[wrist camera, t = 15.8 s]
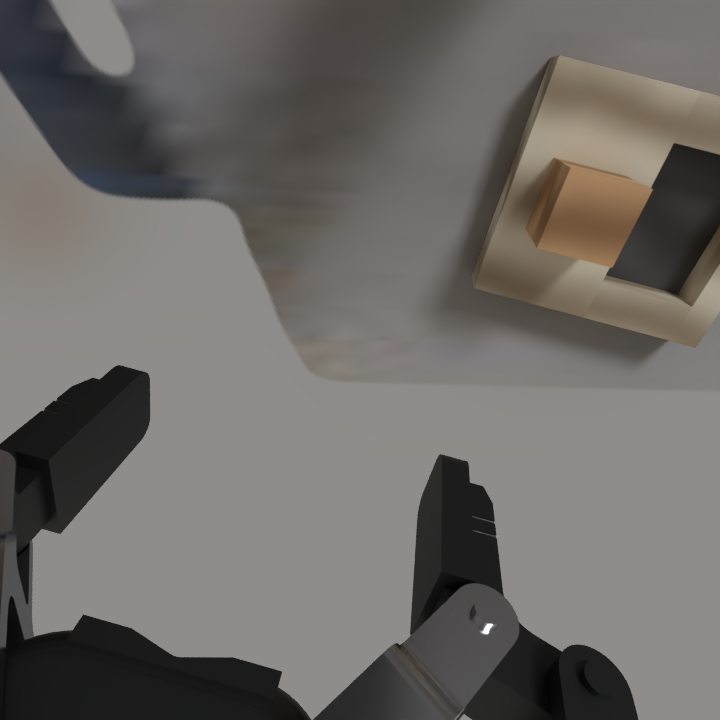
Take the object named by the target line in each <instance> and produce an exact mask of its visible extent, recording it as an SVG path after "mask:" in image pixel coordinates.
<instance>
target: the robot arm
mask: <svg viewBox="0 0 720 720" xmlns="http://www.w3.org/2000/svg"><path fill="white" fill-rule="evenodd" d="M149 421H150V378H149V375H148V373H146V372H142V371H138V370H135V369H131V368H127V367H124V366H120V365H118V366H115V367H114V368H113V369H111V370H110V371H109V372H108V373H107V374H106V375H105V376H103V377H102V378H101V379H100V380H99V379H95V378H91V379H89V380H87V381H84V382H82V383H79V384H77V385H74V386H72V387H71V388H69V389H68V390H67V391H66V392H65V393H63V394H62V395H61V396H59V397H58V398H57V401H53V402H52V403H51V404H50V405H48V406H47V407H46V408H45V410H44V411H41V412H39V413H38V414H37V415H36V416H34V417H33V418H32V419H31V420H29V421H28V422H27V423H26V424H24V425H23V426H22V427H21V428H19V429H18V430H17V431H16V432H14V433H13V434H12V435H11V436H9V437H8V438H7V439H6V440H5V441H3V442H2V443H1V444H0V720H311V719H310V717H309V716H308V714H307V713H306V712H305V711H304V710H303V708H302V707H301V706H300V705H299V704H298V702H296V701H295V700H294V699H293V698H292V697H291V696H290V695H288V694H287V693H286V692H284V691H283V690H281V689H280V688H278V685H279V681H280V677H281V673H282V672H281V671H278V670H275V669H271V668H268V667H264V666H261V665H257V664H254V663H250V662H247V661H243V660H239V659H236V658H206V657H204V658H203V657H201V658H200V657H198V658H195V657H191V658H189V657H183V658H182V657H176V656H173V655H171V654H169V653H168V652H166V651H165V650H163V649H162V648H160V647H159V646H157V645H156V644H154V643H153V642H151V641H150V640H148V639H147V638H145V637H144V636H142V635H140V634H139V633H138V632H136V631H135V630H133V629H132V628H128V627H124V626H121V625H118V624H114V623H111V622H107V621H104V620H100V619H96V618H93V617H90V616H86V615H83V616H82V618H81V619H80V620H79V622H78V623H77V625H76V626H75V628H74V629H73V630H72V631H60V632H52V633H48V634H43V635H39V636H35V637H34V634H33V625H32V572H33V569H32V568H33V543H32V539H33V538H34V537H35V536H36V534H37V533H38V532H39V531H40V530H41V529H45V530H48V531H52V532H55V533H59V534H60V533H62V531H63V530H64V529H65V528H66V527H67V526H68V524H69V523H70V522H71V521H72V520H73V519H74V517H75V516H76V515H77V514H78V513H79V512H80V510H81V509H82V508H83V507H84V506H85V505H86V504H87V502H88V501H89V500H90V499H91V498H92V497H93V495H94V494H95V493H96V492H97V491H98V490H99V488H100V487H101V486H102V485H103V483H105V481H106V480H107V479H108V478H109V477H110V476H111V475H112V473H113V472H114V471H115V470H116V469H117V468H118V466H119V465H120V464H121V463H122V462H123V461H124V459H125V458H126V457H127V456H128V455H129V454H130V452H131V451H132V450H133V449H134V448H135V447H136V445H137V444H138V443H139V442H140V441H141V440H142V438H143V437H144V435H145V433H146V431H147V429H148V426H149ZM494 521H495V520H494V511H493V503H492V501H491V500H490V498H489V496H488V494H487V493H486V491H485V489H484V487H483V486H480V485H476V484H473V483H470V479H469V465H468V462H467V461H463V460H460V459H456V458H452V457H449V456H445V455H441V454H440V455H439V456H438V458H437V460H436V462H435V465H434V468H433V470H432V472H431V475H430V477H429V480H428V482H427V485H426V487H425V490H424V492H423V495H422V498H421V501H420V505H419V510H418V518H417V533H416V550H415V565H414V581H413V597H412V614H411V630H410V634H411V636H410V637H409V638H408V639H407V640H406V641H405V642H404V643H402V644H401V645H399V644H398V643H396V644H394V645H392V646H391V647H390V648H388V649H387V650H386V651H385V652H384V653H383V654H382V655H381V656H380V657H378V658H377V659H376V660H375V661H374V662H373V663H372V664H371V665H370V666H369V667H368V668H367V669H366V670H365V671H364V672H363V673H362V674H361V675H360V676H359V677H357V678H356V679H355V680H354V681H353V682H352V683H351V684H350V685H349V686H348V687H347V688H346V689H345V690H344V691H343V692H342V693H341V694H340V695H339V696H338V697H337V698H336V699H334V700H333V701H332V702H331V703H330V704H329V705H328V706H327V707H326V708H325V709H324V710H323V711H322V712H321V713H320V714H319V715H318V716H317V717H315V718H314V719H313V720H460V719H461V717H462V716H463V715H464V714H465V715H467V716H468V717H469V718H471V719H472V720H638V716H637V713H636V708H635V705H634V701H633V697H632V694H631V691H630V688H629V686H628V683H627V681H626V680H625V678H624V676H623V675H622V673H621V672H620V671H619V669H618V668H617V667H616V666H615V665H614V664H613V663H612V662H611V661H610V660H609V659H608V658H607V657H606V656H604V655H603V654H602V653H600V652H598V651H597V650H595V649H593V648H590V647H588V646H584V645H571V646H569V647H567V648H566V649H564V650H563V652H561V651H560V650H558V649H556V648H555V647H553V646H551V645H550V644H548V643H547V642H545V641H543V640H542V639H540V638H539V637H537V636H535V635H534V634H532V633H531V632H529V631H528V630H527V629H526V628H524V627H523V626H522V625H521V624H520V623H519V622H518V618H517V615H516V613H515V611H514V609H513V607H512V606H511V605H510V603H509V602H508V600H507V599H505V597H504V595H503V589H502V580H501V571H500V564H499V554H498V545H497V539H496V528H495V524H494Z"/></svg>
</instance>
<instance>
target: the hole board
mask: <svg viewBox="0 0 720 720" xmlns="http://www.w3.org/2000/svg"><path fill="white" fill-rule="evenodd" d="M554 157H555V158H558V159H562V160H566V161H570V162H574V163H578V164H581V165H585V166H589V167H593V168H597V169H601V170H605V171H608V172H612V173H616V174H620V175H624V176H627V177H629V178H631V179H633V180H635V181H637V182H639V183H641V184H643V185H645V186H647V187H649V188H652V189H653V191H652V192H651V194H650V196H649V198H648V200H647V202H646V204H645V206H644V208H643V210H642V212H641V214H640V216H639V217H638V219H637V221H636V223H635V225H634V227H633V229H632V231H631V233H630V235H629V237H628V239H627V241H626V243H625V244H624V246H623V248H622V250H621V252H620V254H619V256H618V258H617V260H616V262H615V264H614V266H613V268H610V267H606V266H603V265H599V264H595V263H591V262H588V261H584V260H580V259H576V258H572V257H569V256H565V255H561V254H557V253H553V252H550V251H546V250H542V249H538V248H536V246H535V244H534V242H533V241H532V239H531V237H530V236H529V234H528V232H527V230H526V226H527V224H528V221H529V219H530V216H531V214H532V211H533V209H534V206H535V204H536V201H537V199H538V196H539V194H540V191H541V189H542V186H543V184H544V181H545V179H546V176H547V174H548V171H549V169H550V166H551V164H552V161H553V159H554ZM472 281H473V288H474V289H478V290H482V291H485V292H489V293H493V294H497V295H500V296H504V297H508V298H512V299H515V300H519V301H523V302H527V303H530V304H534V305H538V306H542V307H545V308H549V309H553V310H557V311H560V312H564V313H568V314H572V315H575V316H579V317H583V318H587V319H590V320H594V321H598V322H602V323H605V324H609V325H613V326H617V327H620V328H624V329H628V330H632V331H635V332H639V333H643V334H647V335H651V336H654V337H658V338H662V339H666V340H669V341H673V342H677V343H681V344H684V345H688V346H692V347H696V346H697V345H698V343H699V342H700V340H701V339H702V337H703V336H704V334H705V333H706V331H707V330H708V328H709V327H710V325H711V324H712V322H713V321H714V319H715V318H716V316H717V315H718V313H719V312H720V96H717V95H713V94H709V93H705V92H701V91H697V90H694V89H690V88H686V87H682V86H678V85H674V84H670V83H666V82H662V81H658V80H654V79H650V78H646V77H642V76H639V75H635V74H631V73H627V72H623V71H619V70H615V69H611V68H607V67H603V66H599V65H595V64H591V63H587V62H584V61H580V60H576V59H572V58H568V57H564V56H560V55H559V56H555V57H552V58H550V60H549V63H548V66H547V68H546V71H545V74H544V77H543V79H542V82H541V85H540V88H539V91H538V93H537V96H536V99H535V102H534V104H533V107H532V110H531V113H530V115H529V118H528V121H527V124H526V127H525V129H524V132H523V135H522V138H521V140H520V143H519V146H518V149H517V151H516V154H515V157H514V160H513V163H512V165H511V168H510V171H509V174H508V176H507V179H506V182H505V185H504V187H503V190H502V193H501V196H500V199H499V201H498V204H497V207H496V210H495V212H494V215H493V218H492V221H491V223H490V226H489V229H488V232H487V235H486V237H485V240H484V243H483V246H482V248H481V251H480V254H479V257H478V259H477V262H476V265H475V268H474V271H473V273H472Z"/></svg>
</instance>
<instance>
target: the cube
mask: <svg viewBox="0 0 720 720" xmlns="http://www.w3.org/2000/svg"><path fill="white" fill-rule="evenodd" d="M652 191H653V189H652V188H649V187H647V186H645V185H643V184H641V183H639V182H637V181H635V180H633V179H631V178H629V177H627V176H624V175H620V174H616V173H612V172H608V171H605V170H601V169H597V168H593V167H589V166H585V165H581V164H578V163H574V162H570V161H566V160H562V159H558V158H555V157H554V159H553V161H552V164H551V166H550V169H549V171H548V174H547V176H546V179H545V181H544V184H543V186H542V189H541V191H540V194H539V196H538V199H537V201H536V204H535V206H534V209H533V211H532V214H531V216H530V219H529V221H528V224H527V226H526V230H527V232H528V234H529V236H530V237H531V239H532V241H533V242H534V244H535V246H536V248H538V249H542V250H546V251H550V252H553V253H557V254H561V255H565V256H569V257H572V258H576V259H580V260H584V261H588V262H591V263H595V264H599V265H603V266H606V267H610V268H613V266H614V264H615V262H616V260H617V258H618V256H619V254H620V252H621V250H622V248H623V246H624V244H625V243H626V241H627V239H628V237H629V235H630V233H631V231H632V229H633V227H634V225H635V223H636V221H637V219H638V217H639V216H640V214H641V212H642V210H643V208H644V206H645V204H646V202H647V200H648V198H649V196H650V194H651V192H652Z"/></svg>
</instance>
